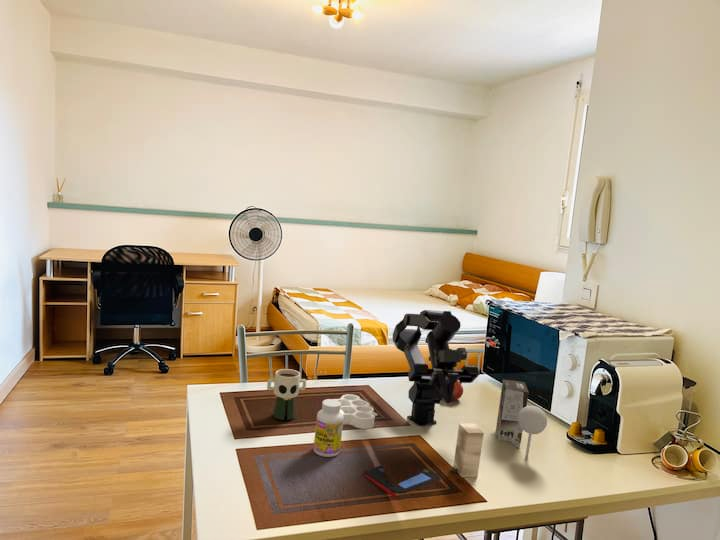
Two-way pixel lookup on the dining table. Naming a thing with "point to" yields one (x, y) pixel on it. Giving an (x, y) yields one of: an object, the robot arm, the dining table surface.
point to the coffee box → (511, 411)
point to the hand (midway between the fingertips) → (449, 403)
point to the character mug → (286, 392)
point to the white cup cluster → (357, 411)
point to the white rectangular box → (468, 450)
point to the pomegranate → (457, 390)
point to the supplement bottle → (328, 429)
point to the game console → (411, 484)
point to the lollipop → (532, 422)
